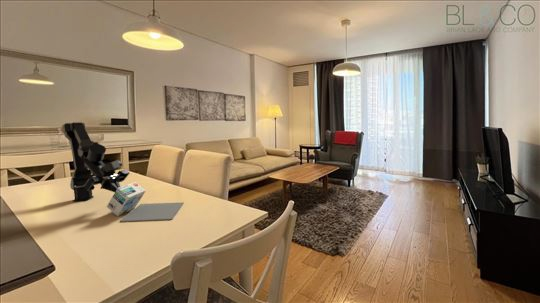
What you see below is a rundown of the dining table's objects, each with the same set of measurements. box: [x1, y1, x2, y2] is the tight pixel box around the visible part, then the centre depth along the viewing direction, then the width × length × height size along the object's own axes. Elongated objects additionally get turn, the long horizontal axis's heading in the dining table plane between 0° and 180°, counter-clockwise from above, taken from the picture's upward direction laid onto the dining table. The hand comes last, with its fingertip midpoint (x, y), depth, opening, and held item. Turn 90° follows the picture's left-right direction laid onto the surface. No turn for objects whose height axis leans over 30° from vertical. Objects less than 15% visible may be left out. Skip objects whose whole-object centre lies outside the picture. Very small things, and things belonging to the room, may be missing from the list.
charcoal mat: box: [119, 201, 185, 223], centre depth 109 cm, size 20×20×1 cm
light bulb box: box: [106, 181, 146, 217], centre depth 108 cm, size 11×7×11 cm
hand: (120, 193), depth 108 cm, fingers closed, pressing on light bulb box
